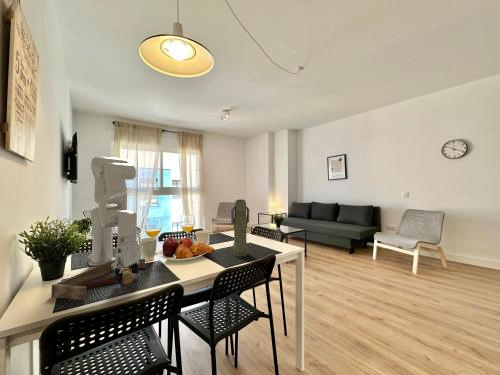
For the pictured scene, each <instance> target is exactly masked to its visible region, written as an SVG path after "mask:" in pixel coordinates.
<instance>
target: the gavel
mask: <svg viewBox="0 0 500 375" xmlns="http://www.w3.org/2000/svg"><path fill="white" fill-rule="evenodd" d="M122 272H123V282H121V284H122V285H130V284H132V283H133V281H134V275H133V273H131V269H130V267H124V268H123V270H122ZM113 283H117V282H116V281H115V275H112V276H109V277H105V278H101V279H98V280H93V281H88V282H86V283H84V284H82V285H80V286H83V287H87V290H88V289H89V290H90V289H93V288H97V287H102V286H105V285H108V284H113Z"/></svg>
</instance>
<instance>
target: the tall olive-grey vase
mask: <svg viewBox="0 0 500 375" xmlns="http://www.w3.org/2000/svg"><path fill="white" fill-rule="evenodd" d="M230 210H231V213H230V216H231V217H230V218H231V219H230V221H231V222H230V223H231V224H232V225H233V226H232V227H233V232H234V233H233V244H232V246H233V248H232V250H233V256H234V257H238V258H241V257H242V258H243V257H246V256H248V243H247V230H248V229H247V228H248V224H249V222H250V208H249V207H248V206H247V203H246V200H245V199H236V200H235V201H234V206H233V207H231V209H230Z"/></svg>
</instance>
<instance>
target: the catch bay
mask: <svg viewBox="0 0 500 375" xmlns="http://www.w3.org/2000/svg"><path fill="white" fill-rule="evenodd" d="M115 260H116V259H115ZM115 260H112V261H110V262H107V263H105V264H103V265H100V266H94V268H91V269H88V270H86V271H83V272H81V273H78V274H75V275H73V276H70V277H68V278H66V279H63V280H60V281H58V282H55V283H53V284H51V290H50V291H51V293H50V294H51V298H58V299H66V300H67V299H69V300H77V301H86V300H87V299H88V289H87V287H83V286H81V285H82V284H85V283H89V282H91V281H92V280H94V279H97V278H99V277H100V276H103V275H106V274H107V273H110V272H113V270H112V267H111V265H112V264H113V263H114V261H115ZM131 266H132V265H130V266H128V267H127V268H131ZM139 268H142V269H144V268H146V259H145V258H141V257H140V261H139V264H138V269H139Z"/></svg>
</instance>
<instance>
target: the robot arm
mask: <svg viewBox="0 0 500 375" xmlns="http://www.w3.org/2000/svg"><path fill="white" fill-rule="evenodd" d="M90 169H91V173H92V175H93V177H94V194H93V195H94V196H93V197H94V202H95V203H96V204H98V206H96V207H94V208H92V209H91V211H90V213H89V214H90V220H91V230H92V231H91V232H92V234H91V236H92V237H91V238H92V248H91V253H90V254H89V255H87V259H90V261H88V266H92V267H98V266H100V265H103V264H105V263H107V262H110V261H112V260H115V259H116V260H115V261H114V263H113V264H112V265H111V267H112V272H113V273H114V274H115V275H114V276H115V281H116V282H115V283H122V282H123V272H122V270H123V268H129V267H128V266H130V265H132V266H131V267H130V268H131V269H130V271H131V274H136V275H137V274H139V268H138V264H139V261H140V258H141V257H142V253H141V252H140V246H139V241H138V232H137V230H138V214H137V212H135V211H132V210H129V209H128V193H127V191H128V189H127V184H126V180H127V181H129V180H130V181H132V180H135V178H136V177H137V170H136V169H137V168H136V167H135V165H134V164H133V163H132V162H130V161H129V159H126V158H121V157H120V158H119V157H111V156H110V157H108V156H95V157H92V159H91V161H90ZM107 205H108V206H107ZM109 205H110V206H109ZM127 209H128V210H127ZM112 228H117V244H116V250H115V257H114V256H113V240H114V239H113V229H112Z"/></svg>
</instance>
